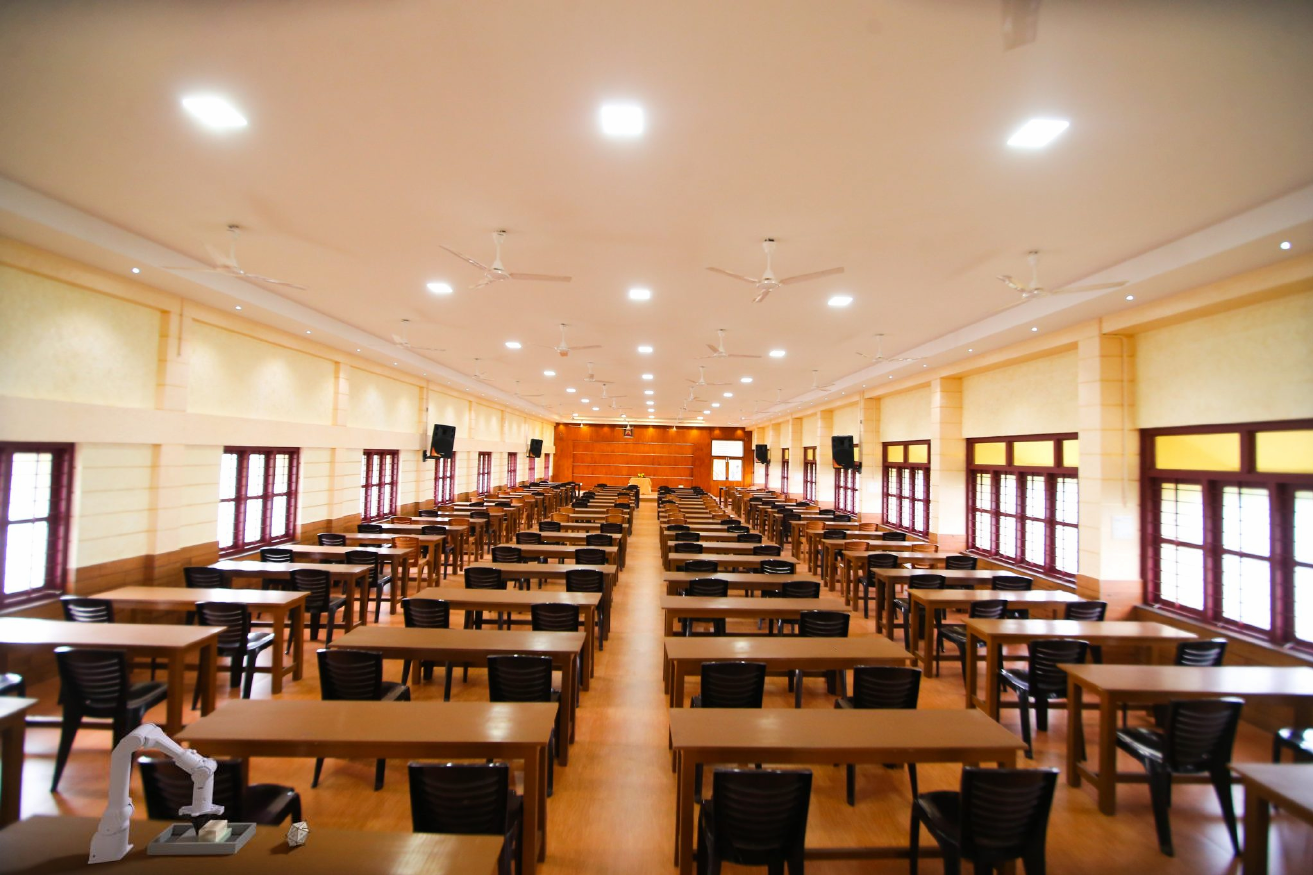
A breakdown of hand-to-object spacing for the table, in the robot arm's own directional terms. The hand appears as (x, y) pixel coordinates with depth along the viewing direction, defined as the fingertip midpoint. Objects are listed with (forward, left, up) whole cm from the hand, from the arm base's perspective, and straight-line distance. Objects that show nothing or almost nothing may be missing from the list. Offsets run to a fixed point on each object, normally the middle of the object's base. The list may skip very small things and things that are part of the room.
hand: (199, 833), depth 212 cm
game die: (+34, -8, -4) cm, 36 cm away
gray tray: (+1, 0, -3) cm, 4 cm away
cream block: (+4, -1, -1) cm, 5 cm away
